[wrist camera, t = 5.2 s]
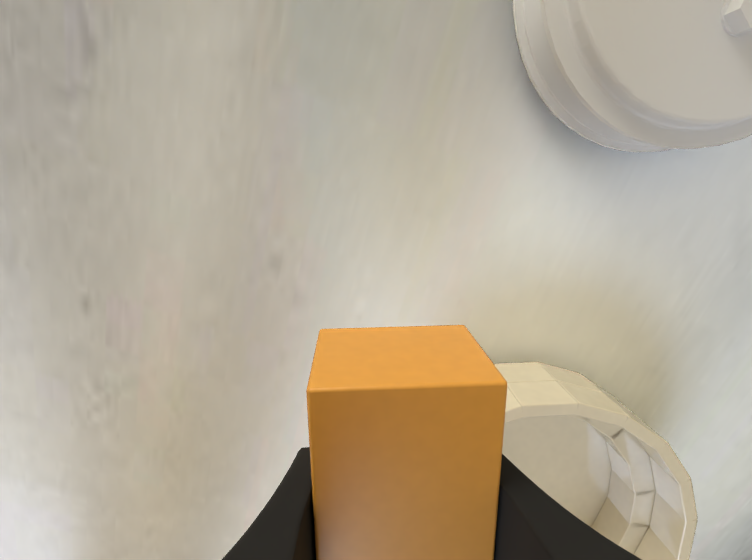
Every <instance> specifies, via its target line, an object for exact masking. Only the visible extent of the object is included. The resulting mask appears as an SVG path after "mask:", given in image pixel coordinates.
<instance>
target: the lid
mask: <svg viewBox="0 0 752 560" xmlns="http://www.w3.org/2000/svg"><path fill="white" fill-rule="evenodd" d="M513 17H514V25H515V33H516V39H517V43H518V46H519V50H520V54H521V58H522V61H523V64H524V66H525V68H526V71H527V73H528V76H529V78H530V80H531V82H532V84H533V86H534V87H535V89H536V91H537V92H538V94H539V96H540V98H541V99H542V100H543V102H544V103H545V104H546V105H547V107H548V108H549V109H550V110H551V111H552V113H553V114H554V115H555V116H556V117H557V118H558V119H559V120H561V121H562V122H563V123H564V124H565V125H566V126H567V127H568V128H570V129H571V130H573V131H574V132H576V133H577V134H579V135H580V136H582V137H583V138H585V139H587V140H590V141H592V142H594V143H596V144H599V145H601V146H604V147H608V148H612V149H616V150H620V151H629V152H657V151H665V150H670V149H694V148H704V147H711V146H719V145H722V144H726V143H730V142H733V141H737V140H740V139H743V138H745V137H748V136H750V135H752V0H513Z"/></svg>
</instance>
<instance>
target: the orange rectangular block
mask: <svg viewBox="0 0 752 560" xmlns="http://www.w3.org/2000/svg"><path fill="white" fill-rule="evenodd" d="M306 392H307V410H308V427H309V444H310V462H311V479H312V496H313V514H314V531H315V548H316V560H494V548H495V536H496V523H497V510H498V498H499V485H500V472H501V460H502V447H503V435H504V422H505V409H506V397H507V381H506V380H505V378H504V377H503V376H502V374H501V373H500V372H499V370H498V369H497V368H496V366H495V365H494V364H493V363H492V361H491V360H490V359H489V357H488V356H487V355H486V353H485V352H484V351H483V349H482V348H481V347H480V345H479V344H478V343H477V341H476V340H475V339H474V337H473V336H472V335H471V333H470V332H469V331H468V329H467V328H466V327H465V326H464V325H444V326H409V327H375V328H340V329H321V330H320V331H319V335H318V340H317V344H316V349H315V354H314V358H313V363H312V368H311V372H310V377H309V382H308V386H307V391H306Z"/></svg>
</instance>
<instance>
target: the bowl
mask: <svg viewBox="0 0 752 560" xmlns="http://www.w3.org/2000/svg"><path fill="white" fill-rule="evenodd" d="M494 365H495V366H496V368H497V369H498V370H499V372H500V373H501V374H502V376H503V377H504V378H505V380H506V381H507V397H506V409H505V422H504V435H503V447H502V454H503V455H504V456H505V457H506V458H507V459H509V460H510V461H511V462H512V463H513V464H514V465H515V466H516V467H517V468H518V469H519V470H520V471H521V472H522V473H524V474H525V475H526V476H527V477H528V478H529V479H530V480H531V481H533V482H534V483H535V484H536V485H537V486H538V487H539V488H541V489H542V490H543V491H544V492H545V493H547V494H548V495H549V496H550V497H551V498H553V499H554V500H555V501H556V502H558V503H559V504H560V505H561V506H563V507H564V508H565V509H566V510H568V511H569V512H570V513H572V514H573V515H574V516H576V517H577V518H578V519H580V520H581V521H583V522H584V523H586V524H587V525H588V526H590V527H591V528H593V529H594V530H596V531H597V532H598V533H600V534H601V535H603V536H604V537H606V538H607V539H609V540H611V541H612V542H614V543H615V544H617V545H618V546H620V547H622V548H623V549H625V550H627V551H628V552H630V553H632V554H633V555H635V556H637V557H638V558H640V559H642V560H689V557H690V553H691V548H692V543H693V539H694V534H695V530H696V525H697V512H696V506H695V500H694V494H693V487H692V481H691V478H690V476H689V474H688V473H687V471H686V470H685V468H684V467H683V465H682V463H681V462H680V460H679V459H678V457H677V456H676V454H675V453H674V451H673V450H672V448H671V446H670V445H669V443H668V442H667V441H666V440H665V439H663V438H662V437H661V436H660V435H659V434H657V433H656V432H655V431H654V430H653V429H652V428H650V427H649V426H648V425H647V424H646V423H644V422H643V421H642V420H641V419H640V418H638V417H637V416H636V415H635V414H634V413H632V412H631V411H630V410H629V409H628V408H626V407H625V406H624V405H623V404H622V403H621V402H619V401H618V400H617V399H616V398H615V397H613V396H612V395H611V394H609V393H608V392H606V391H605V390H604V389H602V388H601V387H599V386H598V385H596V384H595V383H593V382H592V381H591V380H589V379H588V378H586V377H585V376H583V375H582V374H580V373H577V372H574V371H570V370H566V369H563V368H559V367H555V366H551V365H548V364H544V363H540V362H521V363H498V364H494Z"/></svg>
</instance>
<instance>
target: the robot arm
mask: <svg viewBox="0 0 752 560" xmlns="http://www.w3.org/2000/svg"><path fill="white" fill-rule="evenodd" d="M222 560H316V548H315V531H314V514H313V496H312V479H311V462H310V447H308V448H301V449H300V450H299V451H298V453H297V455H296V457H295V459H294V461H293V463H292V465H291V467H290V468H289V470H288V472H287V473H286V475H285V477H284V478H283V480H282V482H281V483H280V485H279V486H278V488H277V489H276V491H275V492H274V494H273V496H272V497H271V499H270V500H269V502H268V503H267V504H266V506H265V507H264V508H263V510H262V511H261V512H260V514H259V515H258V517H257V518H256V519H255V521H254V522H253V523H252V525H251V526H250V527H249V528H248V530H247V531H246V532H245V533H244V535H243V536H242V537H241V538H240V540H239V541H238V542H237V543H236V544H235V545H234V546H233V548H232V549H231V550H230V551H229V552H228V553H227V554H226V556H225V557H224V558H223V559H222ZM494 560H642V559H640V558H638V557H637V556H635V555H633V554H632V553H630V552H628V551H627V550H625V549H623V548H622V547H620V546H618V545H617V544H615V543H614V542H612V541H611V540H609V539H607V538H606V537H604V536H603V535H601V534H600V533H598V532H597V531H596V530H594V529H593V528H591V527H590V526H588V525H587V524H586V523H584V522H583V521H581V520H580V519H578V518H577V517H576V516H574V515H573V514H572V513H570V512H569V511H568V510H566V509H565V508H564V507H563V506H561V505H560V504H559V503H558V502H556V501H555V500H554V499H553V498H551V497H550V496H549V495H548V494H547V493H545V492H544V491H543V490H542V489H541V488H539V487H538V486H537V485H536V484H535V483H534V482H533V481H531V480H530V479H529V478H528V477H527V476H526V475H525V474H524V473H522V472H521V471H520V470H519V469H518V468H517V467H516V466H515V465H514V464H513V463H512V462H511V461H510V460H509V459H507V458H506V457H505V456H504V455H503V454H502V460H501V472H500V485H499V498H498V510H497V523H496V536H495V548H494Z"/></svg>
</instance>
